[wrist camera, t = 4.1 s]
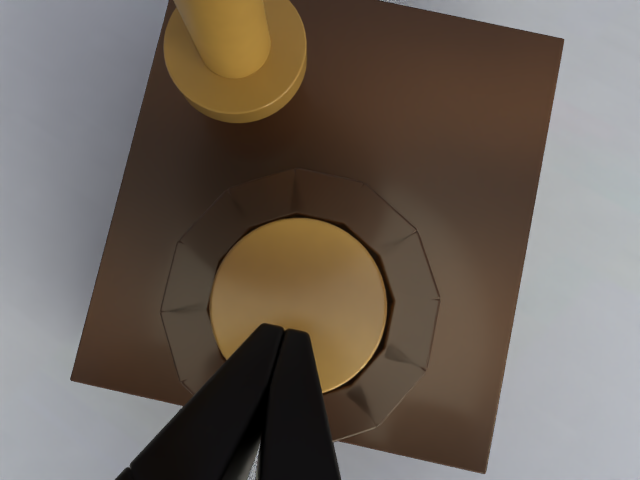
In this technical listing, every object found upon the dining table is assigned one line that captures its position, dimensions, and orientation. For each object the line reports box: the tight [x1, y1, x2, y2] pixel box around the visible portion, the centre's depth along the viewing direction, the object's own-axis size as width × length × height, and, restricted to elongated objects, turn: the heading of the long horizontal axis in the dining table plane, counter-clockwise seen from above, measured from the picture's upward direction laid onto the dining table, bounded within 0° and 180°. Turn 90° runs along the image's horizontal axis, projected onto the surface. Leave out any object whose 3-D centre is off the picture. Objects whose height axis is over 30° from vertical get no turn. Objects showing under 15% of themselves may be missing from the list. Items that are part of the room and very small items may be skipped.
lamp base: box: [70, 0, 564, 474], centre depth 18 cm, size 13×12×7 cm
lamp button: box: [209, 218, 387, 393], centre depth 14 cm, size 4×4×2 cm
